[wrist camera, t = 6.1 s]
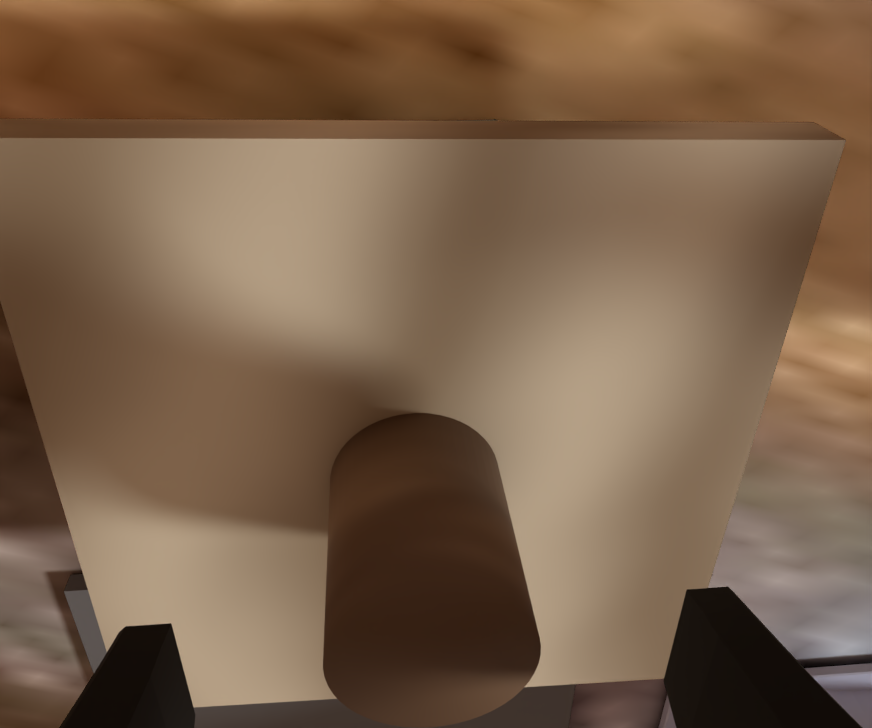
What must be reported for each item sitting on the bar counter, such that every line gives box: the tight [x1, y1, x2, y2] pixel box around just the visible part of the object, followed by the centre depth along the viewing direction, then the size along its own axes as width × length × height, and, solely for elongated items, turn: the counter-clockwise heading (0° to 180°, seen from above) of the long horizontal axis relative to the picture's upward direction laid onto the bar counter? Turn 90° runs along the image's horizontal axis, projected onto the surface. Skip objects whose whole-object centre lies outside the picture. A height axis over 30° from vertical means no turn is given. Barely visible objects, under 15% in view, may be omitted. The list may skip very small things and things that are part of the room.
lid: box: [0, 119, 846, 728], centre depth 14 cm, size 13×13×5 cm
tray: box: [64, 574, 575, 728], centre depth 26 cm, size 15×15×1 cm
